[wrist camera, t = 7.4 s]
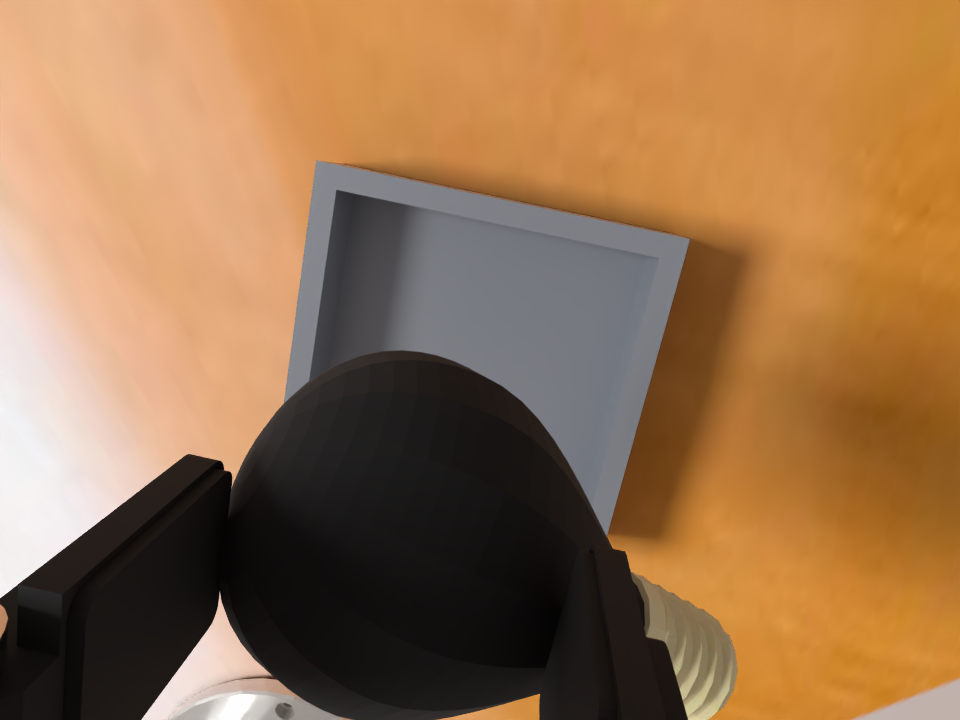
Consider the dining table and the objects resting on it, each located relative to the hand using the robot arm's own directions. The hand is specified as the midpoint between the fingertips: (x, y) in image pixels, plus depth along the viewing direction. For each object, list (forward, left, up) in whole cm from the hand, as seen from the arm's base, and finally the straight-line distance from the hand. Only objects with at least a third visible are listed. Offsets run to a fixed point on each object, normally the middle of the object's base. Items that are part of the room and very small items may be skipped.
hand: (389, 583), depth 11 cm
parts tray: (0, 0, -16) cm, 16 cm away
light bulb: (-1, -2, -5) cm, 6 cm away
